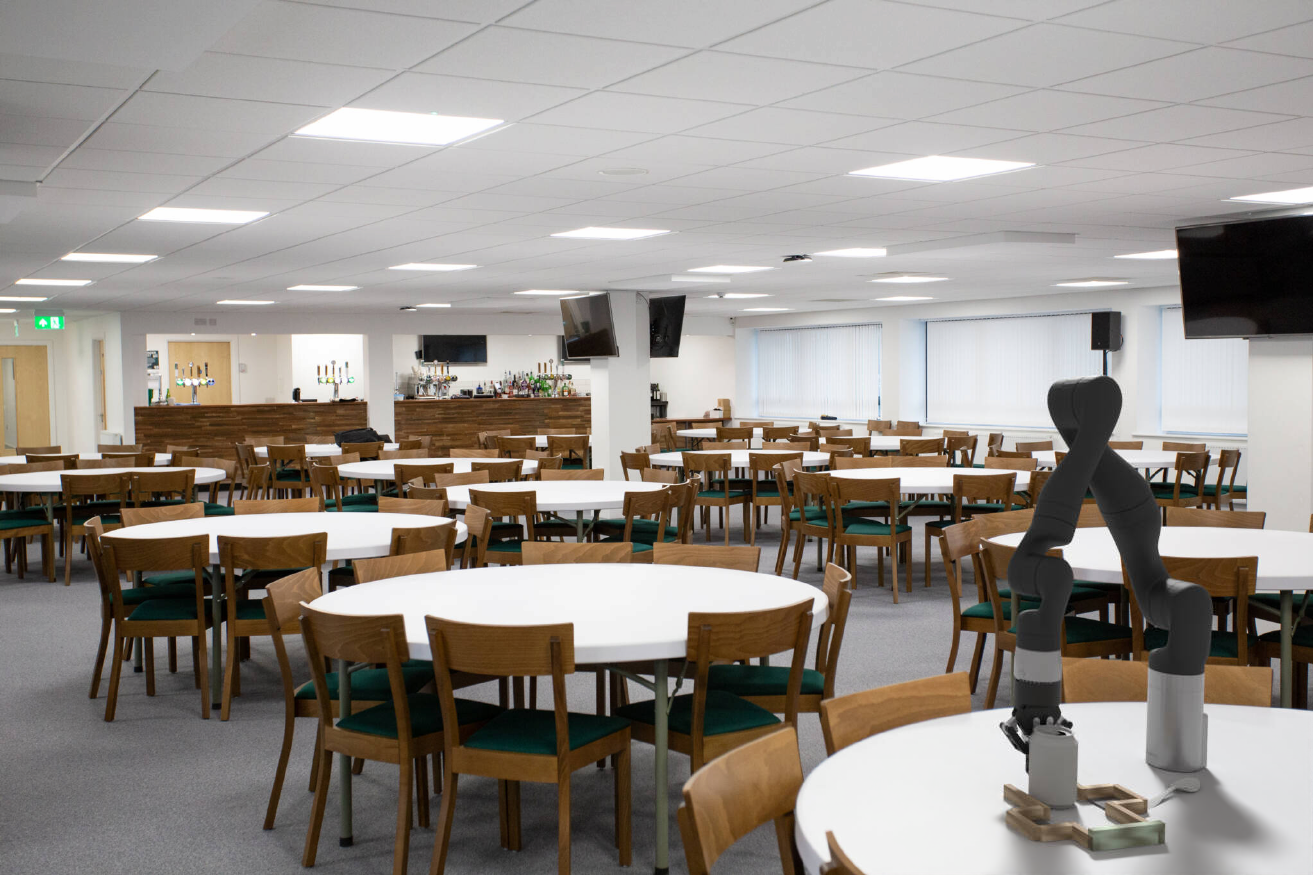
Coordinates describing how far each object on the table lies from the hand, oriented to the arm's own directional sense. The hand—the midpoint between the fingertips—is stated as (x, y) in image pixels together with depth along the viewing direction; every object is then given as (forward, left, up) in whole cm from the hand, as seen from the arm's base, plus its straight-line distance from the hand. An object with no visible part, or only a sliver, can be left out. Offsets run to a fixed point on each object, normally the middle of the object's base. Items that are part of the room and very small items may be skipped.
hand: (1034, 776), depth 186 cm
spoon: (-20, +7, -3) cm, 21 cm away
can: (0, +5, -3) cm, 6 cm away
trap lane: (0, +12, -3) cm, 12 cm away
